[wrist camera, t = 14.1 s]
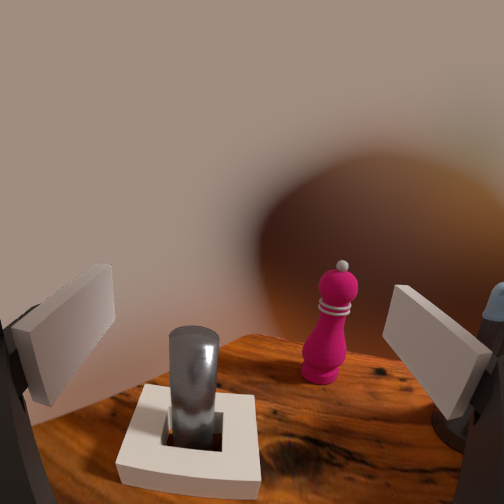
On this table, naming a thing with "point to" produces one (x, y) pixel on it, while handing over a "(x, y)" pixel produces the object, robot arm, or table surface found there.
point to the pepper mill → (329, 326)
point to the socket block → (192, 450)
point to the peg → (193, 386)
